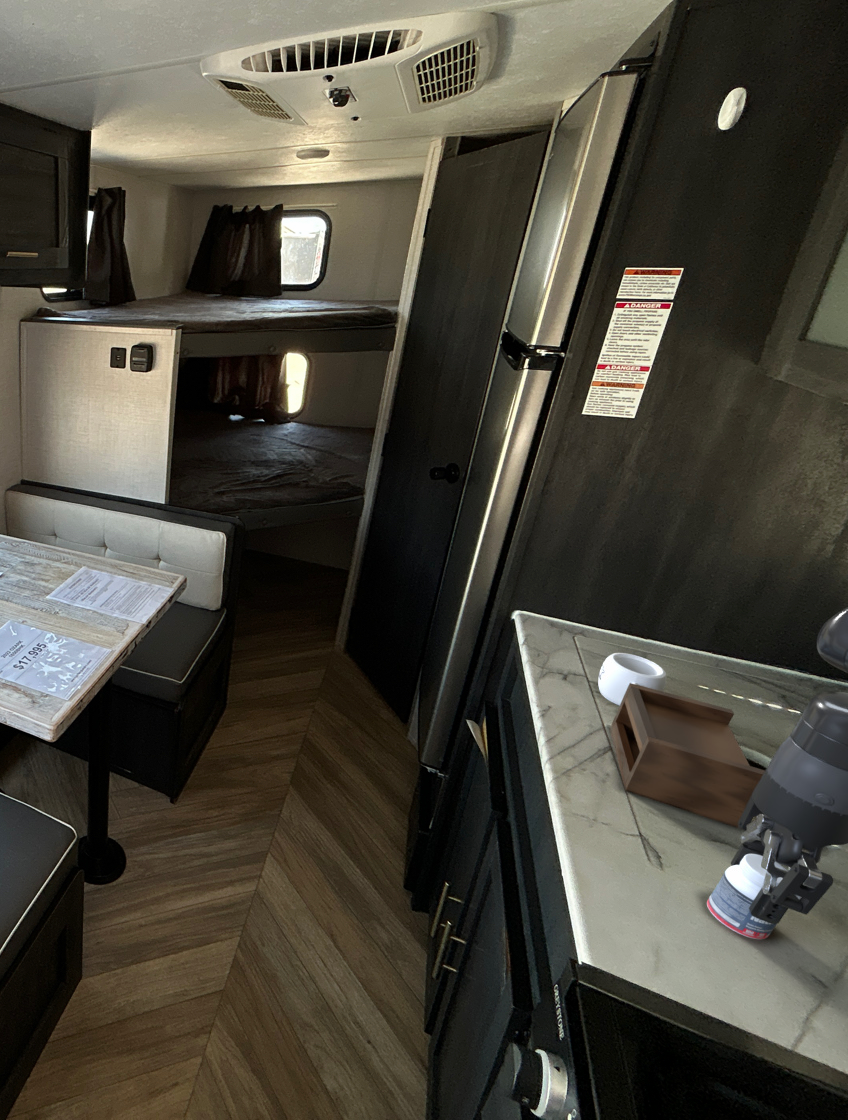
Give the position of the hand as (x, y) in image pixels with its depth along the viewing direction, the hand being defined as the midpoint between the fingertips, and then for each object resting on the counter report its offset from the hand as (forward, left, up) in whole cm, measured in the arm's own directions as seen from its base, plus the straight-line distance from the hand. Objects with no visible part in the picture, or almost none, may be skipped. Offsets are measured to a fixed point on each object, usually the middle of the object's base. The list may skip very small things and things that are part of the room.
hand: (751, 893), depth 74 cm
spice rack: (+2, -26, -5) cm, 26 cm away
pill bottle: (0, 0, -5) cm, 5 cm away
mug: (+5, -44, -5) cm, 45 cm away
